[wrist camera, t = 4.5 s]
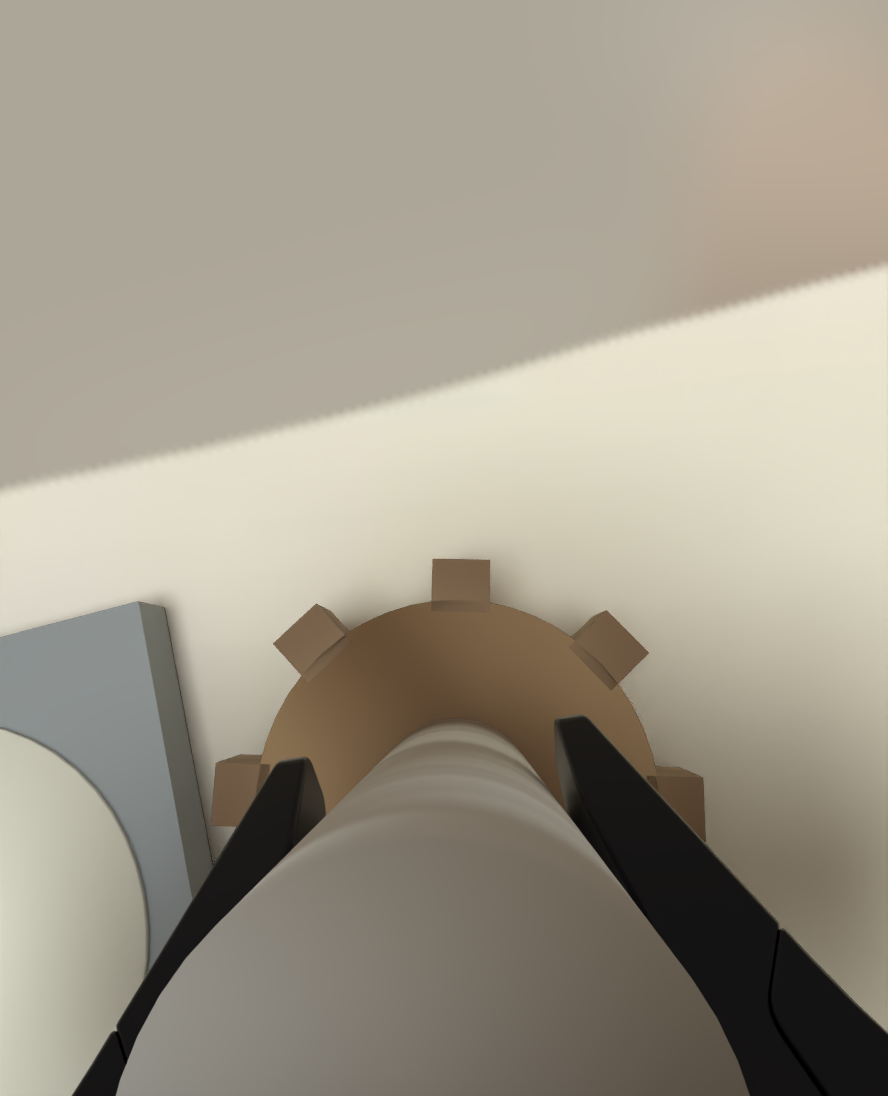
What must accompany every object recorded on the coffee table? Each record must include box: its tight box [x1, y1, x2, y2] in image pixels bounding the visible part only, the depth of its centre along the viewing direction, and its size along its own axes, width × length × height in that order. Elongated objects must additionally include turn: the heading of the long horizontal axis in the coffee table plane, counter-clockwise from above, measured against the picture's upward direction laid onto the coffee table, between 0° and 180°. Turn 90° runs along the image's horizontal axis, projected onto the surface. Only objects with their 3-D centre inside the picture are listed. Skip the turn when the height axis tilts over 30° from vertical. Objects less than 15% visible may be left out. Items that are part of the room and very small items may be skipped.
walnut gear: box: [116, 559, 750, 1096], centre depth 10 cm, size 10×10×12 cm
